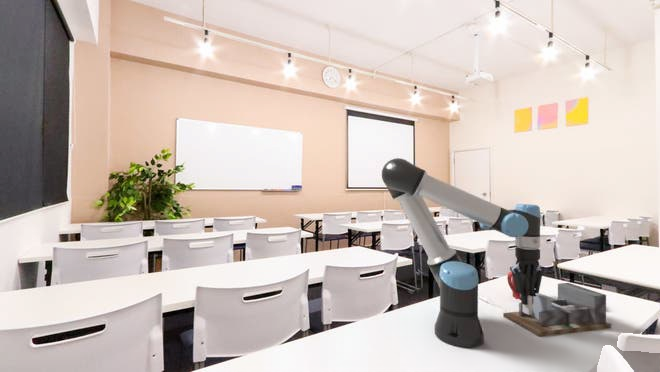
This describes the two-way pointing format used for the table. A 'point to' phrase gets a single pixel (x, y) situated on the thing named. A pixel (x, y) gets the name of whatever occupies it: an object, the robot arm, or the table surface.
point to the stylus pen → (490, 302)
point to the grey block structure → (583, 316)
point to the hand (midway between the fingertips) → (527, 313)
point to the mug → (513, 285)
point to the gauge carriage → (547, 306)
